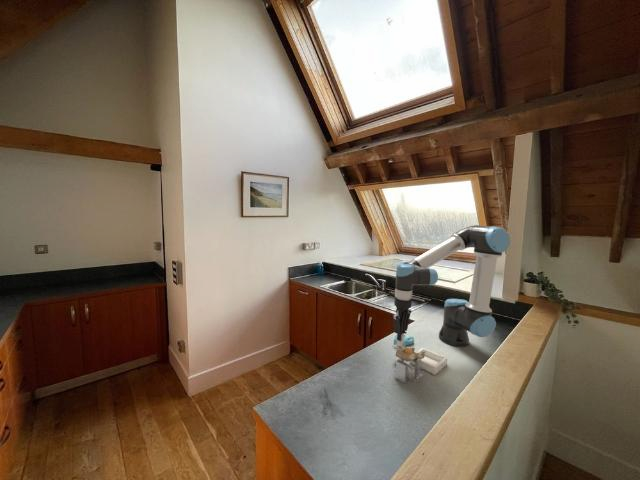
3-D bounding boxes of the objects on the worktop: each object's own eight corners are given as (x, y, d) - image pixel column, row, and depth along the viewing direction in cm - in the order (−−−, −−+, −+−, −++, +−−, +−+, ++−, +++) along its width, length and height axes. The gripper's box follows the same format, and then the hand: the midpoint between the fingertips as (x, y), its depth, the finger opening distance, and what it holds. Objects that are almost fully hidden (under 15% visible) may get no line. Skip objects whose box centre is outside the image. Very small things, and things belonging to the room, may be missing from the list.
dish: (422, 354, 131) (422, 347, 131) (446, 365, 123) (447, 357, 122) (409, 363, 124) (410, 355, 123) (435, 375, 115) (435, 367, 114)
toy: (416, 335, 145) (408, 342, 133) (415, 343, 145) (407, 351, 133) (399, 330, 151) (389, 336, 139) (398, 338, 151) (388, 345, 139)
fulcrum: (403, 365, 121) (404, 348, 120) (423, 375, 114) (424, 357, 113) (389, 375, 114) (390, 356, 113) (410, 386, 107) (411, 366, 106)
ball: (402, 353, 113) (405, 354, 115) (409, 357, 111) (412, 357, 113) (404, 346, 114) (407, 347, 116) (411, 349, 111) (414, 350, 113)
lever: (397, 346, 127) (398, 340, 128) (423, 358, 117) (425, 352, 118) (379, 348, 117) (380, 342, 118) (407, 361, 107) (408, 355, 108)
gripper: (403, 293, 128) (400, 339, 131) (388, 298, 120) (385, 347, 122) (417, 297, 123) (414, 345, 125) (403, 303, 114) (399, 354, 117)
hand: (399, 346), depth 124 cm, fingers closed
